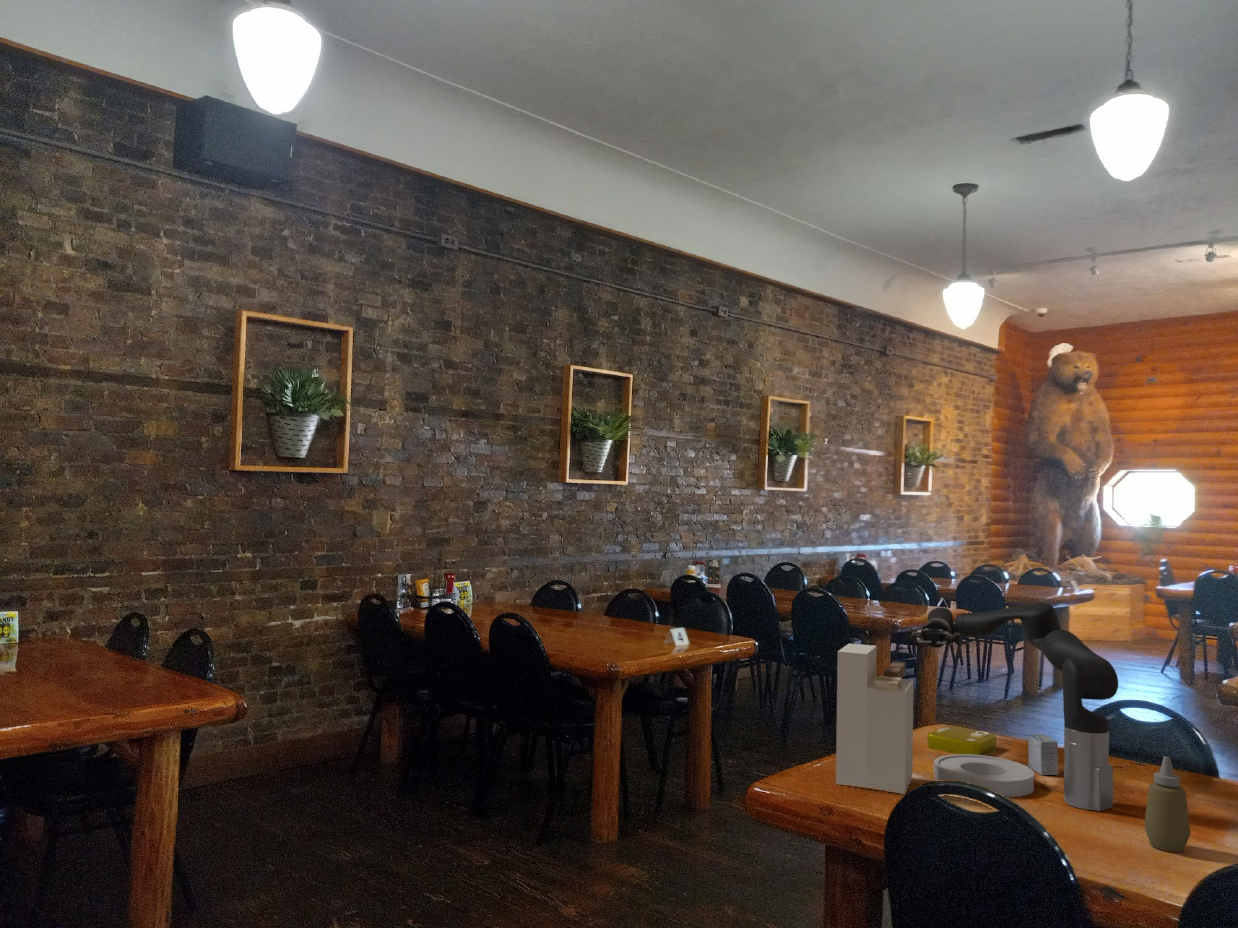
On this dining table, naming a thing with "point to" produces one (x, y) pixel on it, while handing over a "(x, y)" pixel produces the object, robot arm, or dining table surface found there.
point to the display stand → (872, 725)
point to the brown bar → (891, 677)
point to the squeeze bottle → (1167, 811)
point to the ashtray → (986, 773)
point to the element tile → (962, 741)
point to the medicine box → (1043, 754)
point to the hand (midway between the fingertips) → (930, 640)
